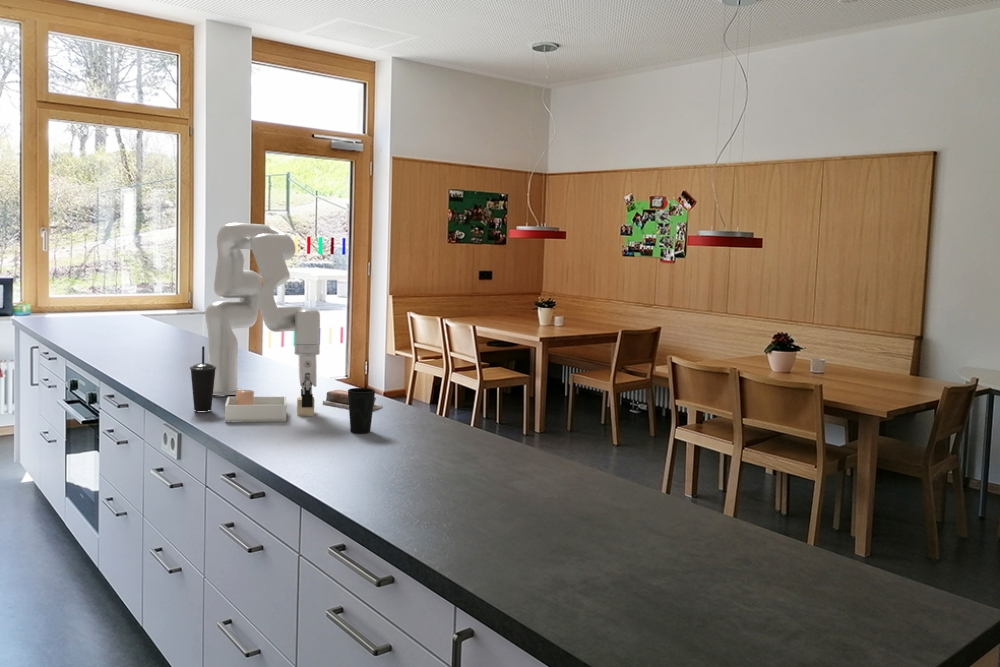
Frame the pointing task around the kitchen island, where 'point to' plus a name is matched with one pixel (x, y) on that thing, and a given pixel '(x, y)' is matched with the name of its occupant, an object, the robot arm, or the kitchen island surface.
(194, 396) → the drinking cup
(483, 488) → the kitchen island surface
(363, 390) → the cup
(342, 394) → the packaged product
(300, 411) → the cube
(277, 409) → the tote
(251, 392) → the cylinder
